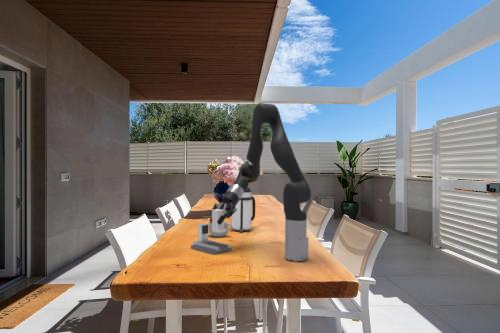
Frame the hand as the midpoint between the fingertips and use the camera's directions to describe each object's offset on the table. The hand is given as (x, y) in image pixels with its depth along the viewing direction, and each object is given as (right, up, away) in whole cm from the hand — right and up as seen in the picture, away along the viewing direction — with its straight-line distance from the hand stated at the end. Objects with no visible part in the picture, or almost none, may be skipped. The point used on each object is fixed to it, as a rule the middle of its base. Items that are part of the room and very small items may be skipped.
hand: (214, 222), depth 163 cm
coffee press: (+11, -14, +55) cm, 58 cm away
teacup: (0, -14, +36) cm, 38 cm away
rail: (-2, -14, +4) cm, 14 cm away
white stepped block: (+1, -4, +1) cm, 5 cm away
